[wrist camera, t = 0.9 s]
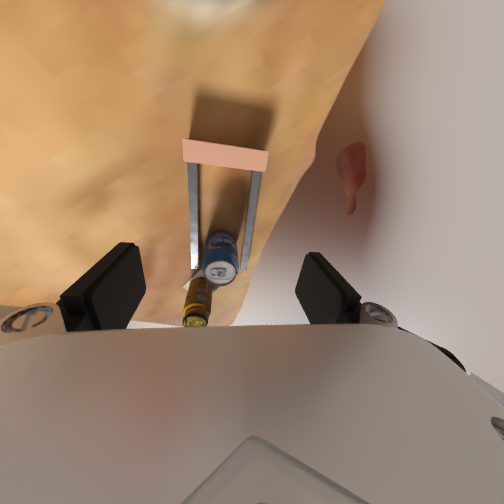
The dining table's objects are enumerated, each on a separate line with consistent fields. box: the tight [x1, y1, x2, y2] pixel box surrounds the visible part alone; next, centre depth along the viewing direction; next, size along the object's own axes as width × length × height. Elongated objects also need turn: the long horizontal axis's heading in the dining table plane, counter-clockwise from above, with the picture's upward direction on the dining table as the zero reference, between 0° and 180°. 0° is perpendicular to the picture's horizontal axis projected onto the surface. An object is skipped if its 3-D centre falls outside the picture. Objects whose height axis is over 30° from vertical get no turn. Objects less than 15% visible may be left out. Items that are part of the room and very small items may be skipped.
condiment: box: [183, 269, 220, 327], centre depth 44 cm, size 7×8×12 cm
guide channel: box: [187, 139, 261, 270], centre depth 38 cm, size 26×13×2 cm, turn 172°
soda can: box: [202, 231, 239, 286], centre depth 38 cm, size 7×7×12 cm
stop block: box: [182, 139, 269, 172], centre depth 31 cm, size 3×13×6 cm, turn 82°
